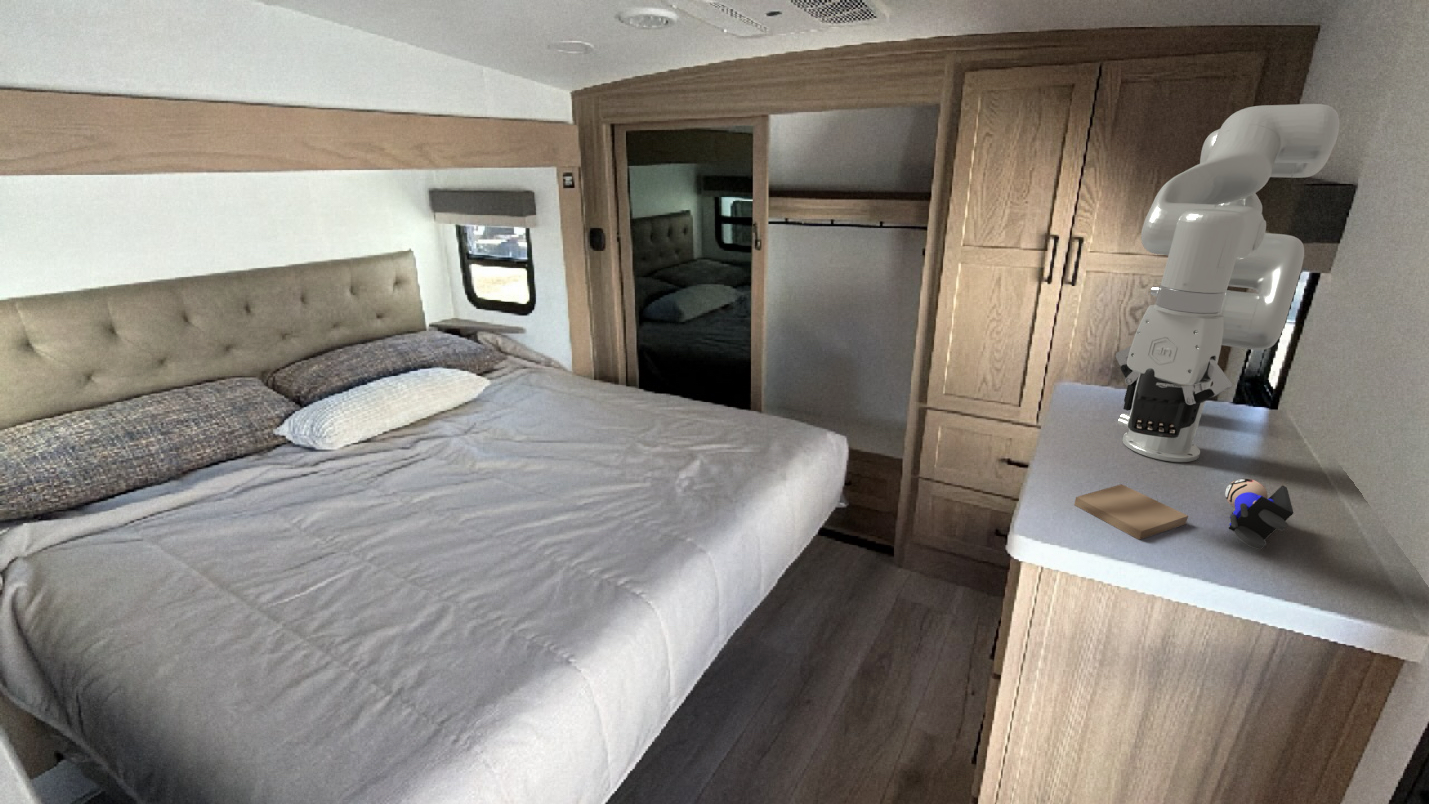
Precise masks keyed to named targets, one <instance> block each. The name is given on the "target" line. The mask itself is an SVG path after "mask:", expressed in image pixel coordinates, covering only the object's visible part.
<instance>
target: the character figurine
mask: <svg viewBox="0 0 1429 804" xmlns="http://www.w3.org/2000/svg"><path fill="white" fill-rule="evenodd" d="M1225 499H1226V502H1227V503H1228V504H1229V505H1230V506H1231V507H1233V508H1234V509H1235V510H1234V511H1233V513H1231V514H1230V515H1229V519H1230V520H1229V521H1230V523H1229V525H1228V526H1229V527H1228V529H1229V530H1231V531H1232V532H1233V533H1234V534H1235V535H1236V537H1237V538H1238V539H1239V540H1240V541H1242V542H1243V543H1245V544H1246V545H1247V546H1248V547H1252V548H1253V549H1257V550H1262V549H1263V548H1264V547H1265V546H1266V545H1267V543H1266V539H1267V538H1269V537H1270V536H1271V534H1273V533H1274V532H1275V531H1276V530H1279V531H1284V530H1285V529H1287V528H1288V526H1289V524H1288V523H1287V520H1288V519H1289V518H1290V517H1291V516H1292V515H1294V514H1295V513H1294V509H1293V506H1292V503H1291V501H1292V500H1291V498H1290V495H1289V490H1288V487H1287V486H1285V485H1283V484H1282V485H1281V486H1280V487H1279V488H1278V489H1277V490H1276V491H1275V492H1274V493H1272V495H1271V496H1270V497H1268V491H1267V489H1266V487H1265V486H1264V485H1263V484H1262V483H1261V482H1259V481H1258V480H1255V479H1252V478H1246V477H1245V478H1238V479H1235V480H1234V481H1232V482H1231V483H1229V484H1228V485H1227V486H1226V489H1225Z"/></svg>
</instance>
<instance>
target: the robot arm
mask: <svg viewBox="0 0 1429 804" xmlns="http://www.w3.org/2000/svg"><path fill="white" fill-rule="evenodd" d="M1339 117H1340V116H1339V114H1338V112H1337V111H1336V109H1335V108H1334V107H1332V106H1330V105H1328V104H1322V103H1303V104H1302V103H1299V104H1297V103H1296V104H1273V105H1271V104H1270V105H1269V104H1268V105H1266V104H1265V105H1263V104H1262V105H1255V106H1249V107H1245V108H1242V109H1240V110H1238V111H1236V112H1234V113H1232V114H1231V115H1230V116H1229V117H1227V118H1226V120H1224V122H1223V123H1222V124H1221V127H1220V128H1219V129H1216V130H1214V131H1213V132H1211V133H1210V134H1209V135H1208V136H1207V137H1206V139H1205V140H1204V142H1203V144H1202V148H1201V153H1200V159H1199V163H1198V164H1196V165H1194V166H1192V167H1190V168H1188V169H1186V170H1185V171H1183V172H1181V173H1179V174H1177V175H1175V176H1173V177H1172V178H1171V179H1169V180H1168V181H1167V182H1166V183H1164V185H1163V186H1162V187H1161V188H1160V189H1159V190H1158V192H1157V193H1156V196H1154V200H1153V202H1152V203H1151V207H1150V208H1149V210H1148V212H1147V215H1146V216H1145V219H1144V222H1143V225H1142V229H1141V233H1140V235H1141V236H1140V240H1141V244H1142V246H1143V247H1142V248H1144V249H1145V250H1146V251H1147V252H1148V253H1151V254H1154V255H1160V256H1163V255H1164V256H1167V260H1166V264H1165V267H1164V271H1163V274H1162V279H1161V283H1160V284H1159V286H1154V285H1153V286H1152V288H1151V289H1150V295H1151V296H1154V297H1156V298H1155V304H1149V305H1148V307H1147V309H1146V310H1145V312H1144V314H1143V317H1142V318H1141V320H1140V322H1139V324H1138V327H1137V330H1136V332H1135V334H1134V336H1133V339H1132V343H1131V345H1130V346H1128V347H1126V348H1123V349H1122V350H1120V351H1118V352H1116V353H1115V358H1116V360H1117V363H1118V365H1119V366H1120V371H1121V374H1123V376H1124V378H1125V379H1124V382H1125V384H1126V385H1127V387H1126V391H1125V394H1124V395H1125V396H1124V404H1123V408H1122V409H1123V410H1124V411H1131V408H1132V403H1133V398H1134V393H1135V389H1136V385H1137V381H1138V377H1139V374H1144V373H1145V372H1146V370H1147V369H1149V368H1152V369H1153V370H1154V372H1155V375H1154V376H1155V377H1156V378H1158V379H1160V380H1163V381H1166V382H1169V383H1173V384H1176V385H1180V386H1182V388H1183V393H1184V397H1185V402H1182V403H1180V405H1179V408H1178V411H1177V415H1176V418H1175V421H1174V425H1173V426H1174V428H1176V429H1180V433H1179V436H1178V437H1177V438H1166V437H1158V436H1151V435H1145V434H1139V433H1135V432H1133V431H1131V430H1130V429H1129V428H1128V427H1127V422H1128V419H1129V416H1130V413H1129V414H1128V413H1125V412H1123V413H1121V415H1120V416H1119V418H1118V420H1117V425H1119V426H1122V427H1126V428H1127V429H1128V431H1127V432H1125V433H1124V434H1123V437H1122V442H1123V444H1124V446H1125V447H1126V448H1128V449H1130V450H1132V451H1133V452H1135V453H1137V454H1140V455H1143V456H1144V457H1148V458H1152V459H1156V460H1159V461H1166V462H1173V463H1189V462H1194V461H1196V460H1197V459H1198V458H1199V457H1200V454H1201V450H1200V448H1199V447H1198V446H1197V445H1196V444H1195V443H1194V439H1195V437H1196V434H1197V430H1198V427H1199V425H1200V421H1201V417H1202V414H1203V411H1204V408H1205V404H1206V401H1208V400H1210V399H1213V398H1215V397H1217V396H1218V395H1221V394H1222V393H1224V392H1226V391H1228V390H1229V389H1231V388H1232V387H1233V383H1232V382H1231V380H1230V379H1229V377H1228V376H1227V374H1226V373H1225V372H1224V371H1223V370H1222V368H1221V367H1220V365H1218V363H1219V357H1220V354H1221V349H1222V346H1225V347H1226V346H1227V347H1232V348H1239V349H1246V350H1255V351H1263V350H1267V349H1269V348H1272V347H1273V346H1274V345H1275V344H1276V343H1277V342H1278V340H1280V339H1279V338H1280V337H1281V334H1282V332H1283V330H1284V327H1285V324H1286V321H1287V318H1288V315H1289V311H1290V308H1291V304H1292V301H1293V297H1294V294H1295V292H1296V288H1297V285H1298V282H1299V278H1300V275H1301V271H1302V268H1303V264H1304V260H1305V259H1304V258H1305V246H1304V244H1303V242H1302V241H1301V240H1300V238H1298V237H1295V236H1293V235H1289V234H1282V233H1281V234H1280V233H1271V232H1268V233H1267V232H1266V231H1267V221H1266V220H1265V219H1264V215H1263V205H1262V202H1261V200H1260V199H1259V196H1258V195H1257V194H1256V193H1258V192H1259V191H1260V190H1261V189H1263V187H1265V185H1266V184H1267V183H1268V181H1269V180H1270V178H1291V179H1292V178H1293V179H1294V178H1297V179H1298V178H1300V179H1301V178H1309V177H1312V176H1315V175H1316V174H1318V172H1319V173H1320V171H1321V170H1322V169H1323V168H1324V167H1325V165H1326V164H1327V162H1328V160H1329V158H1330V156H1331V154H1332V152H1333V149H1334V147H1335V145H1336V142H1337V139H1338V136H1339V132H1340V118H1339ZM1228 287H1233V288H1235V287H1236V288H1243V289H1245V288H1246V289H1251V290H1255V291H1256V292H1257V293H1253V292H1247V291H1238V290H1237V291H1236V290H1228ZM1212 383H1213V384H1212ZM1194 386H1195V387H1194Z"/></svg>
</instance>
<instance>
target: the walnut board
mask: <svg viewBox="0 0 1429 804" xmlns="http://www.w3.org/2000/svg"><path fill="white" fill-rule="evenodd" d="M1073 506H1075V507H1077V508H1079V509H1081V510H1083V511H1085V512H1087V513H1089V514H1090V515H1091V516H1092V515H1093V517H1096V518H1098V519H1100V520H1101V521H1104V522H1105V523H1107V524H1109V525H1111V526H1112V527H1114V528H1116V529H1118V530H1120V531H1122V532H1124V533H1126V534H1127V535H1129V536H1131V537H1132V538H1135V539H1136V540H1139V541H1140V540H1143V539H1146V538H1149V537H1152V536H1155V535H1158V534H1161V533H1164V532H1166V531H1169V530H1170V531H1171V530H1173V529H1176V528H1178V527H1181V526H1184V525H1187V521H1188V519H1189V515H1188V514H1186V513H1184V512H1181V511H1179V510H1177V509H1175V508H1172V507H1170V506H1168V505H1166V504H1164V503H1162V502H1160V501H1158V500H1155V499H1154V498H1152V497H1149V496H1148V495H1145V494H1143V493H1141V492H1139V491H1136V490H1135V489H1133V488H1130V487H1128V486H1126V485H1124V484H1117V485H1114V486H1110V487H1106V488H1103V489H1098V490H1096V491H1092V492H1089V493H1086V494H1081V495H1078V496H1076V497H1075V500H1074V504H1073Z"/></svg>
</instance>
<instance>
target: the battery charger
mask: <svg viewBox="0 0 1429 804" xmlns="http://www.w3.org/2000/svg"><path fill="white" fill-rule="evenodd" d="M1154 375H1155V372H1154V370H1153V369H1152V368H1149V369H1147V370H1146V372H1145V373H1144V374H1139V377H1138V381H1137V385H1136V389H1135V393H1134V398H1133V403H1132V408H1131V410H1130V411H1129V412H1130V413H1129V415H1130V416H1129V419H1128V422H1127V427H1126V428H1127V429H1128V428H1129V429H1130V430H1131V431H1133V432H1135V433H1139V434H1145V435H1151V436H1158V437H1166V438H1177V437H1178V436H1179V433H1180V429H1176V428H1174V426H1173V425H1174V421H1175V418H1176V415H1177V411H1178V408H1179V405H1180V403H1182V402H1185V397H1184V393H1183V388H1182V386H1180V385H1176V384H1173V383H1169V382H1166V381H1163V380H1160V379H1158V378H1156V377H1155V376H1154ZM1194 387H1195V386H1194ZM1129 429H1128V430H1129Z"/></svg>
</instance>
